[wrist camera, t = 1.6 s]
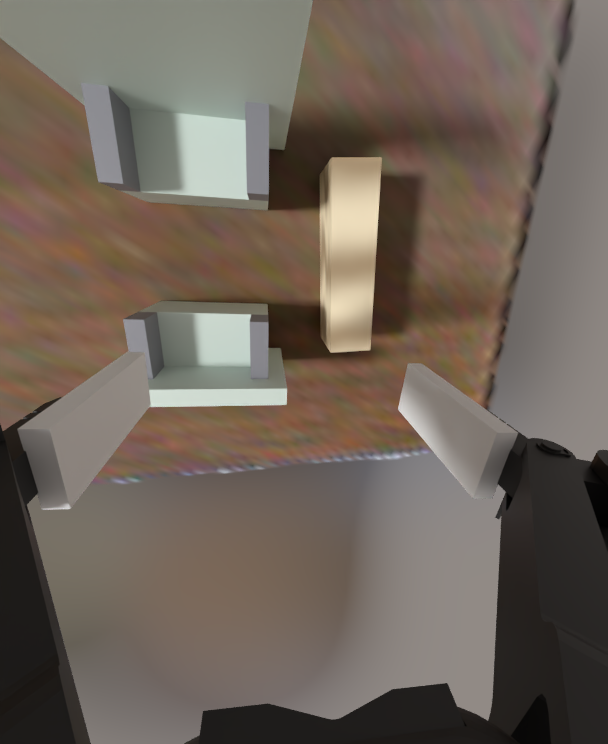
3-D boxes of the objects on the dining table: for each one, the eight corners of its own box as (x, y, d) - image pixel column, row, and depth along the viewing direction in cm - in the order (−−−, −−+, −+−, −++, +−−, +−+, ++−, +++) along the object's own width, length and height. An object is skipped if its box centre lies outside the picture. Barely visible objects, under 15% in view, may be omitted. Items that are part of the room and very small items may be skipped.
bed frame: (117, 112, 25) (-286, -264, 7) (284, 130, 27) (326, -130, 8) (154, 359, 33) (17, 495, 15) (280, 360, 35) (297, 481, 17)
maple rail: (319, 175, 29) (331, 157, 23) (359, 174, 29) (381, 157, 24) (320, 336, 35) (330, 352, 29) (353, 334, 35) (370, 350, 30)
